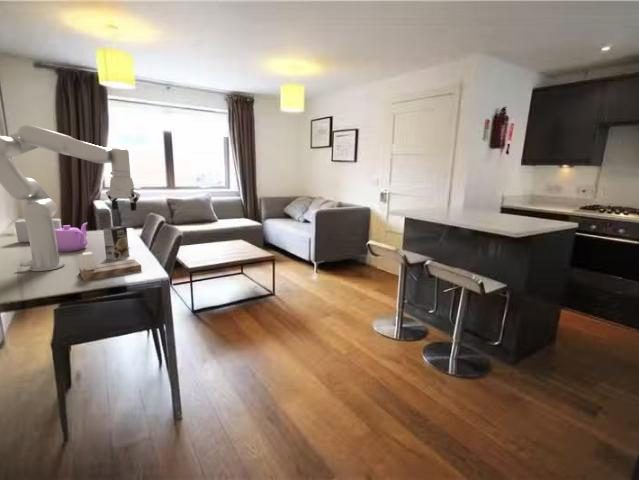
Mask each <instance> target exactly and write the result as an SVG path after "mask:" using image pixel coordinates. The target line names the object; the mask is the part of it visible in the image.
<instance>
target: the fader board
mask: <svg viewBox="0 0 639 480" xmlns="http://www.w3.org/2000/svg"><path fill="white" fill-rule="evenodd" d="M94 267H95V269H93V270H87V271H86V270H85V269H84V266H79V267H78V268H79V275H80V276H81V277H82V279H83V281H84V282H86V281H92V280H99V279H104V278H110V277H116V276H120V275H127V274H128V275H129V274H132V273H138V272H142V265H141V263H139V262H138V261H137V260H136V259H133V258H132V259H127V260H120V261H118V260H117V261H112V262H105V263H100V264H94Z"/></svg>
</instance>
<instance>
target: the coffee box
mask: <svg viewBox="0 0 639 480" xmlns="http://www.w3.org/2000/svg"><path fill="white" fill-rule="evenodd" d="M102 230H103V231H102V232H103V241H104V249H105V259H106V260H111V261H112V260H113V261H118V260H121V259H123V258H127V257H130V250H129V249H130V248H128V247H129V240H128V227H127V226H118V225H117V226H111V227H106V228H103V229H102Z"/></svg>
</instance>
